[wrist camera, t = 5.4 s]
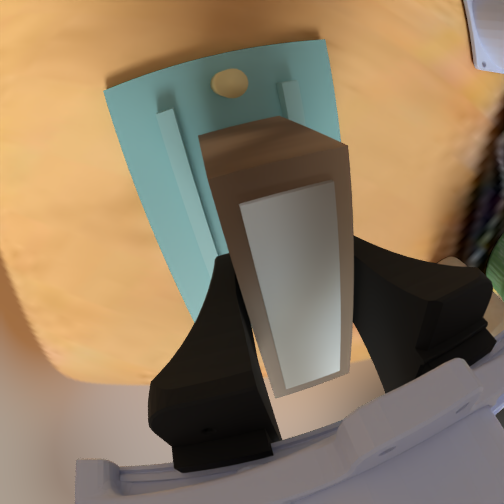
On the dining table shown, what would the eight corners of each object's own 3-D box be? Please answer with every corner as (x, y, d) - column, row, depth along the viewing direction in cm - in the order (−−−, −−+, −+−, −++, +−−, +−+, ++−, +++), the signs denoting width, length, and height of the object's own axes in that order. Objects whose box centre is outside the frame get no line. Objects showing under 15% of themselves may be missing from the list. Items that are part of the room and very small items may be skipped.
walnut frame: (279, 115, 12) (350, 147, 7) (306, 292, 17) (350, 375, 12) (197, 135, 12) (208, 181, 7) (248, 310, 17) (276, 401, 12)
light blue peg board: (320, 40, 12) (354, 33, 9) (345, 289, 22) (366, 322, 19) (106, 90, 12) (83, 93, 9) (202, 333, 21) (207, 373, 18)
